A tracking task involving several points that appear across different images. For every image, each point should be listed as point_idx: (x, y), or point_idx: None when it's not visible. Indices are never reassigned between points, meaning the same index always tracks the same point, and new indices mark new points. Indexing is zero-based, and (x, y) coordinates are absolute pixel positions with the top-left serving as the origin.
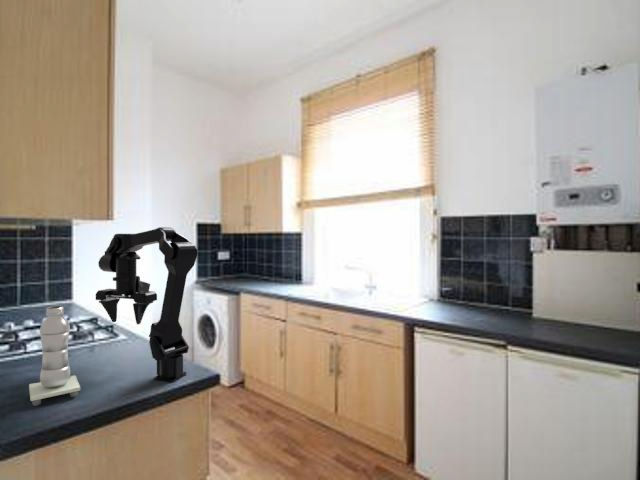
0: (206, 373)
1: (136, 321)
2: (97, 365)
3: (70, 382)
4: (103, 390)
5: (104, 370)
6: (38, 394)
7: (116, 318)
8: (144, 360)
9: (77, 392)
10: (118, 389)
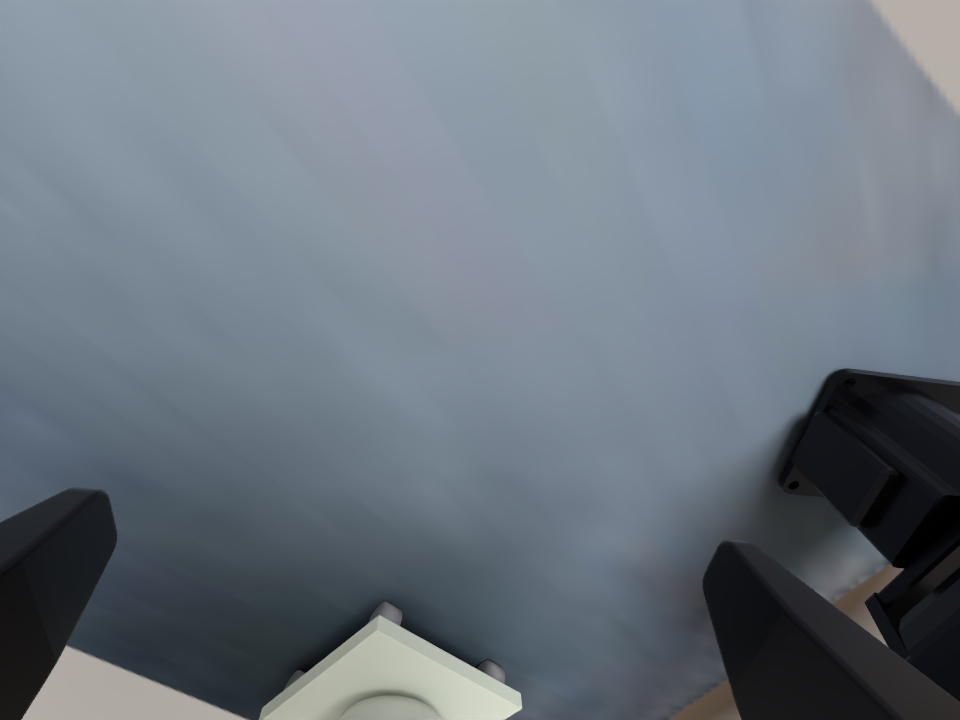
0: None
1: (732, 657)
2: (238, 334)
3: (433, 687)
4: (573, 608)
5: (376, 408)
6: None
7: (55, 531)
8: (546, 156)
9: (503, 681)
10: (638, 591)
